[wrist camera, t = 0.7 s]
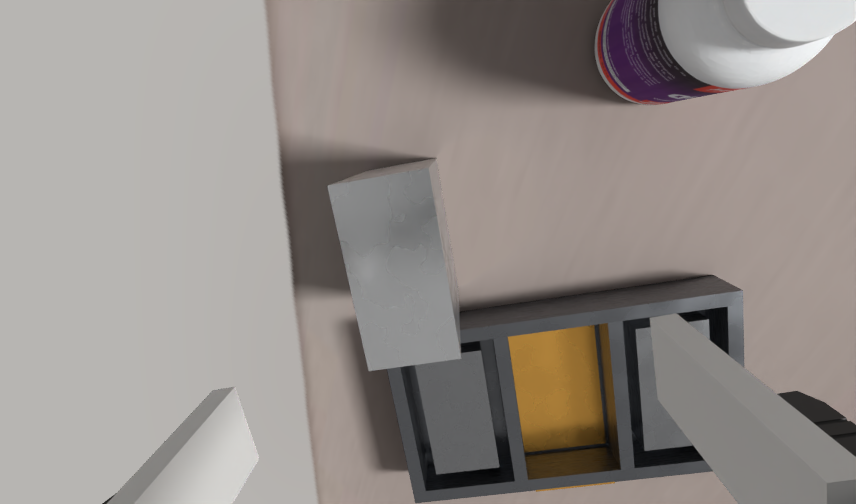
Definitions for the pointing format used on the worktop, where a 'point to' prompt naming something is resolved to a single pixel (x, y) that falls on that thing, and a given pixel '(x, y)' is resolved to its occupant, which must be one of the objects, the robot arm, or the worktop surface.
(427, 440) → the rack
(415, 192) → the grey rectangular block
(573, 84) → the worktop surface
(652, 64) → the pill bottle
